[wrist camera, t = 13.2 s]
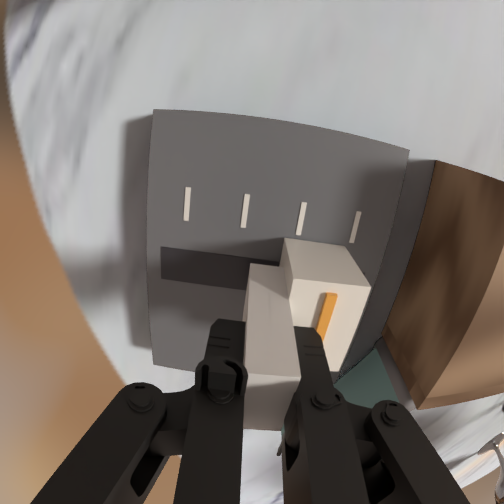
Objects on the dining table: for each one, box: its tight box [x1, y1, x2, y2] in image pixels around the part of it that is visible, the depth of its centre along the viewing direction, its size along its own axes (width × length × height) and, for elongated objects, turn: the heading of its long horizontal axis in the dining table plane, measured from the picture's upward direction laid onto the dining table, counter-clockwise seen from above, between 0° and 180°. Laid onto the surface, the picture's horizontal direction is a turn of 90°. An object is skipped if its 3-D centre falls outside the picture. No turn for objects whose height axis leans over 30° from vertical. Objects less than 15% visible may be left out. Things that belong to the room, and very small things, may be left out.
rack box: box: [381, 160, 504, 410], centre depth 14 cm, size 12×12×7 cm
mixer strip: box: [146, 109, 410, 384], centre depth 16 cm, size 15×12×2 cm
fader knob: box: [279, 238, 371, 371], centre depth 13 cm, size 4×3×4 cm
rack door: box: [281, 338, 416, 440], centre depth 18 cm, size 2×12×6 cm, turn 145°
